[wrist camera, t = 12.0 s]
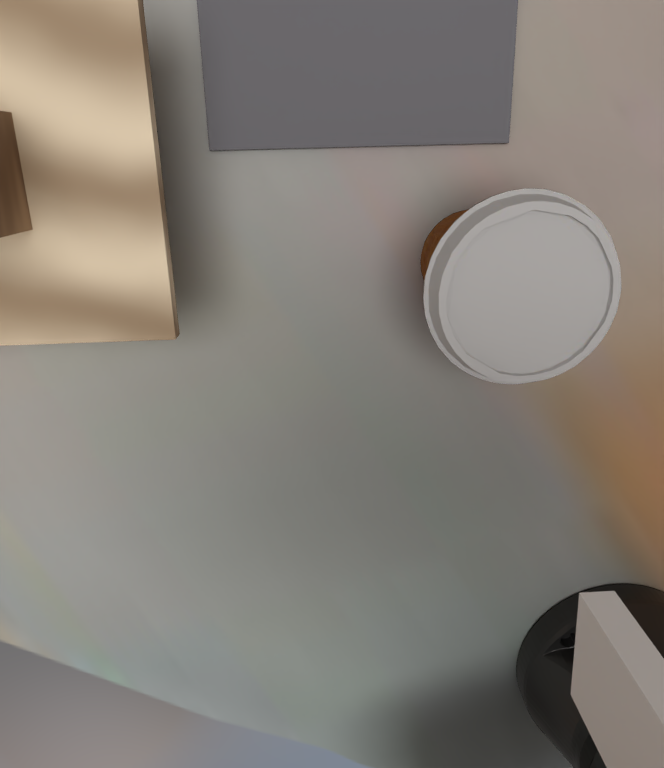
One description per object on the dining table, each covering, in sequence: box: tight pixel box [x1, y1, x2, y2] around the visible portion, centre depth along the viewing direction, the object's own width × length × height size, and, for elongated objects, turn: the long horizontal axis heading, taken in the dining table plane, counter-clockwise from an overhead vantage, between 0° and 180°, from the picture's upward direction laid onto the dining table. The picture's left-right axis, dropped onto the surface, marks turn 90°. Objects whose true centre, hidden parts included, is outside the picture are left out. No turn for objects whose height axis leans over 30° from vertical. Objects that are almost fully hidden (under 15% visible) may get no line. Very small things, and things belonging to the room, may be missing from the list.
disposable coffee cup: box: [421, 188, 621, 384], centre depth 35 cm, size 10×10×12 cm
